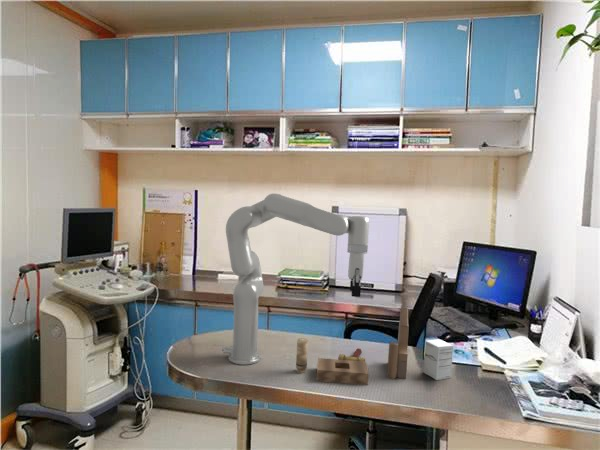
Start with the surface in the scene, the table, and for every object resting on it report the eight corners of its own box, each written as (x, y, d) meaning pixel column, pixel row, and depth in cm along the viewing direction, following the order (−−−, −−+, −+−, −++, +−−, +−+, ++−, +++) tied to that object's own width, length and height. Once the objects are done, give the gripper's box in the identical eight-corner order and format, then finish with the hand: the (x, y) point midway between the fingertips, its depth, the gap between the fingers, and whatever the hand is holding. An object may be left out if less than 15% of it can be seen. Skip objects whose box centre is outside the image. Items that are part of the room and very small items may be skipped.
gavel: (348, 342, 180) (372, 345, 177) (348, 352, 180) (371, 356, 177) (338, 355, 160) (363, 360, 157) (337, 367, 160) (363, 372, 157)
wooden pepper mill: (295, 373, 152) (296, 341, 152) (296, 368, 157) (297, 337, 156) (306, 374, 152) (307, 342, 151) (306, 369, 156) (308, 338, 156)
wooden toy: (387, 362, 167) (390, 301, 165) (404, 364, 166) (408, 302, 164) (387, 378, 152) (391, 311, 150) (406, 380, 151) (410, 313, 149)
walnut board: (316, 380, 147) (317, 369, 147) (317, 368, 158) (318, 358, 158) (367, 384, 146) (368, 373, 145) (365, 372, 157) (365, 361, 156)
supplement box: (422, 372, 159) (424, 340, 158) (437, 370, 162) (440, 338, 161) (436, 380, 152) (438, 346, 151) (451, 378, 155) (454, 344, 154)
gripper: (346, 245, 166) (344, 288, 167) (348, 251, 148) (346, 298, 150) (365, 246, 165) (362, 289, 166) (369, 252, 148) (367, 299, 149)
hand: (354, 293), depth 158 cm, fingers open, 9 cm apart
